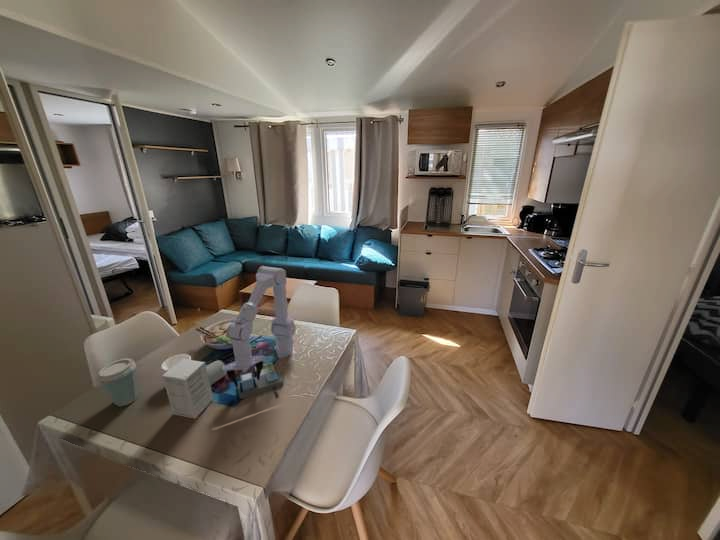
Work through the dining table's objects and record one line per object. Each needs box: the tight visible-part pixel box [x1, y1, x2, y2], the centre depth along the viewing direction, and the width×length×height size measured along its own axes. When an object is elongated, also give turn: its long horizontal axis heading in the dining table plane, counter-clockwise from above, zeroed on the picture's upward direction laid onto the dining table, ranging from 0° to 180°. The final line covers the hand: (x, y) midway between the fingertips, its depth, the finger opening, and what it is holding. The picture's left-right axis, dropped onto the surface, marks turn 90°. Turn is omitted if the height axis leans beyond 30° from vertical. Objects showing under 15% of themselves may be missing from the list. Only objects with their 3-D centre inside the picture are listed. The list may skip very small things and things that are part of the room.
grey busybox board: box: [237, 369, 284, 400], centre depth 106 cm, size 12×16×3 cm
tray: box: [254, 361, 276, 376], centre depth 116 cm, size 7×7×2 cm
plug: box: [240, 372, 255, 393], centre depth 105 cm, size 4×4×6 cm
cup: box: [160, 353, 192, 374], centre depth 109 cm, size 10×10×9 cm
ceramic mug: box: [206, 359, 227, 387], centre depth 111 cm, size 11×8×8 cm
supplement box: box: [161, 359, 214, 419], centre depth 96 cm, size 10×9×17 cm
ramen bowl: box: [195, 318, 236, 350], centre depth 134 cm, size 25×23×8 cm
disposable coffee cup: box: [96, 357, 139, 407], centre depth 99 cm, size 11×11×15 cm
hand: (247, 381), depth 105 cm, fingers open, 7 cm apart
